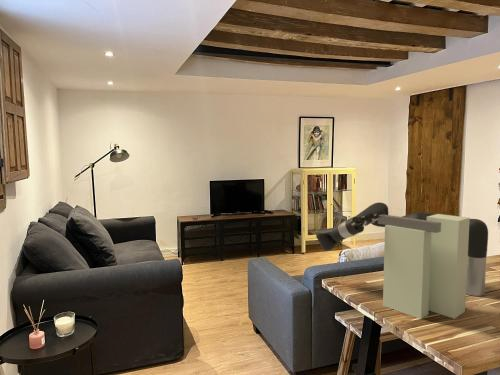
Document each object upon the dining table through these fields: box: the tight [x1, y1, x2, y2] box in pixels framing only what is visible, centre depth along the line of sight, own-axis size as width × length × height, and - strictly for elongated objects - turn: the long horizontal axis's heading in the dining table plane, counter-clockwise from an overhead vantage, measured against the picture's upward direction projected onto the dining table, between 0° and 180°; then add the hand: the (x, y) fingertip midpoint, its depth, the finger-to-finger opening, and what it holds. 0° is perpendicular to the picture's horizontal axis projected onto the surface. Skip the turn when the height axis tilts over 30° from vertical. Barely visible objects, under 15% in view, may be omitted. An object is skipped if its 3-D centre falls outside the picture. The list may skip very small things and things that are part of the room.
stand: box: [427, 213, 471, 319], centre depth 147 cm, size 10×12×38 cm
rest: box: [382, 225, 432, 320], centre depth 147 cm, size 6×16×34 cm, turn 39°
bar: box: [378, 214, 441, 233], centre depth 145 cm, size 4×24×4 cm, turn 39°
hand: (379, 214), depth 155 cm, fingers open, 8 cm apart
